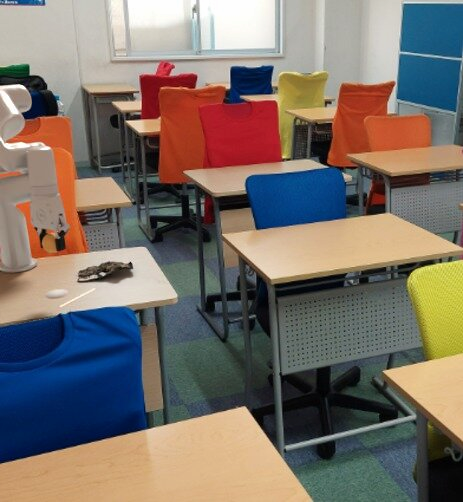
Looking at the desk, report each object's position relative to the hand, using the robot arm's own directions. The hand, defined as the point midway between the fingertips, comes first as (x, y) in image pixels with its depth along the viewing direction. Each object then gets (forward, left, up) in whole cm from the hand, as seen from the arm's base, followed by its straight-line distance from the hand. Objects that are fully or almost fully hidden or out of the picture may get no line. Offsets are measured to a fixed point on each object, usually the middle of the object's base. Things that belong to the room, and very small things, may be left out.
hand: (53, 248), depth 184 cm
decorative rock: (0, +20, -16) cm, 26 cm away
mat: (+5, +1, -16) cm, 16 cm away
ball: (0, 0, -1) cm, 1 cm away
